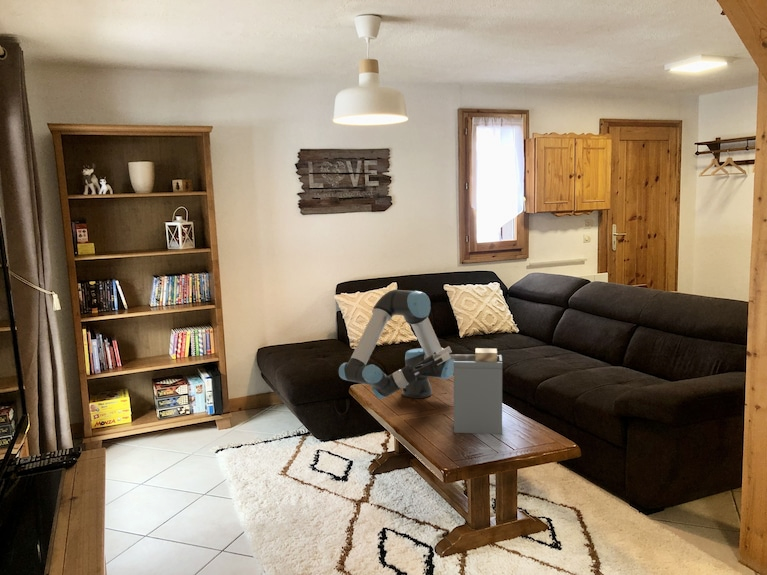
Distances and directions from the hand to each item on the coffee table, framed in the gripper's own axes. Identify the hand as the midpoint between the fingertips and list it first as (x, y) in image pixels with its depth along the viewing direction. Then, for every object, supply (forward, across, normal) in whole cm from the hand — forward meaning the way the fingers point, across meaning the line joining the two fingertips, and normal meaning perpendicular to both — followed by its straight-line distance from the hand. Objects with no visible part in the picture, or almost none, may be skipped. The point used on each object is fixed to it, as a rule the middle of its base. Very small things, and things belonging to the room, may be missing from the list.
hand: (449, 352), depth 263 cm
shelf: (-6, 0, -35) cm, 35 cm away
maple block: (+3, 0, -8) cm, 8 cm away
